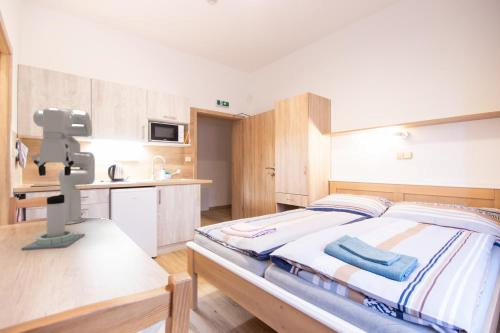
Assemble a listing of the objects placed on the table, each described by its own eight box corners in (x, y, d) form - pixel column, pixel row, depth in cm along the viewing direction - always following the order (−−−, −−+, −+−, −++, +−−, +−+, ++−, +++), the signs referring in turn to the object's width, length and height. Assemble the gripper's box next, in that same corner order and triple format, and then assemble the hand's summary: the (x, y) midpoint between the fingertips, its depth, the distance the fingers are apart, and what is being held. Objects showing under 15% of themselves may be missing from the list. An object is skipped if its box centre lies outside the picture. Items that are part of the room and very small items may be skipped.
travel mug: (69, 237, 109) (68, 194, 108) (56, 242, 102) (55, 196, 102) (56, 237, 109) (56, 194, 109) (43, 242, 103) (42, 196, 102)
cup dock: (47, 237, 112) (46, 230, 112) (84, 235, 115) (84, 228, 115) (21, 250, 96) (21, 241, 96) (66, 247, 99) (66, 239, 99)
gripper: (80, 138, 110) (81, 174, 111) (37, 137, 106) (38, 175, 107) (71, 136, 103) (72, 175, 103) (25, 135, 99) (26, 176, 100)
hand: (55, 175), depth 105 cm, fingers open, 9 cm apart
